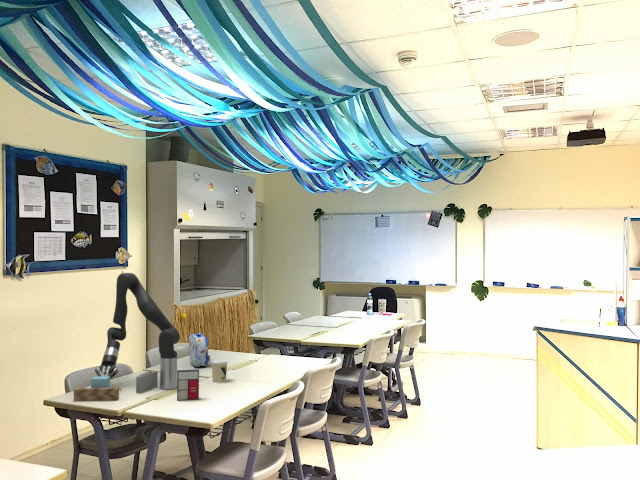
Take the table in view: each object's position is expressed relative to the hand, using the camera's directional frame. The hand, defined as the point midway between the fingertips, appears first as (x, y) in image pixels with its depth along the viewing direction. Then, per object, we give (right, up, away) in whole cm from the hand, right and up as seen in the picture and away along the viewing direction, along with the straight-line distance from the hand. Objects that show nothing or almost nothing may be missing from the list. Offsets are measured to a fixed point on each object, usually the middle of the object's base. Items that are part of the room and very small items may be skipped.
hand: (102, 385), depth 293 cm
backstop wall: (0, -5, -1) cm, 5 cm away
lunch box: (+34, -8, +79) cm, 86 cm away
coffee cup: (+57, -7, +32) cm, 66 cm away
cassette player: (+20, -6, +11) cm, 24 cm away
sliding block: (0, -4, -4) cm, 6 cm away
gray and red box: (+48, -6, -8) cm, 49 cm away
